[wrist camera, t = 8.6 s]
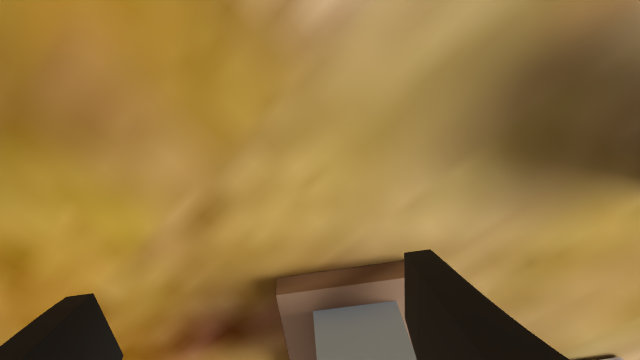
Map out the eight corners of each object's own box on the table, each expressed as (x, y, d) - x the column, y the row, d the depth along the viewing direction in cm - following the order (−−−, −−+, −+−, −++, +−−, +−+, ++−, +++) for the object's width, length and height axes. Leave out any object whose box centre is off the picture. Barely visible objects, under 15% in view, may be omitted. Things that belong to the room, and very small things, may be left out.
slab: (414, 252, 22) (425, 275, 20) (413, 348, 25) (423, 375, 23) (277, 270, 22) (275, 295, 20) (296, 364, 25) (296, 392, 23)
